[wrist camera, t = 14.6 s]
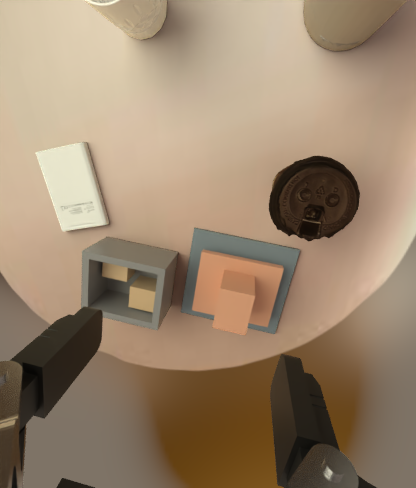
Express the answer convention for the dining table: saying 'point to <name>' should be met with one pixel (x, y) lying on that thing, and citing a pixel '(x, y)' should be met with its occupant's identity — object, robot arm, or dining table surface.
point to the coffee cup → (313, 198)
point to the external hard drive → (73, 186)
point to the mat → (245, 250)
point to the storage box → (128, 281)
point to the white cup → (133, 15)
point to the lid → (236, 290)
